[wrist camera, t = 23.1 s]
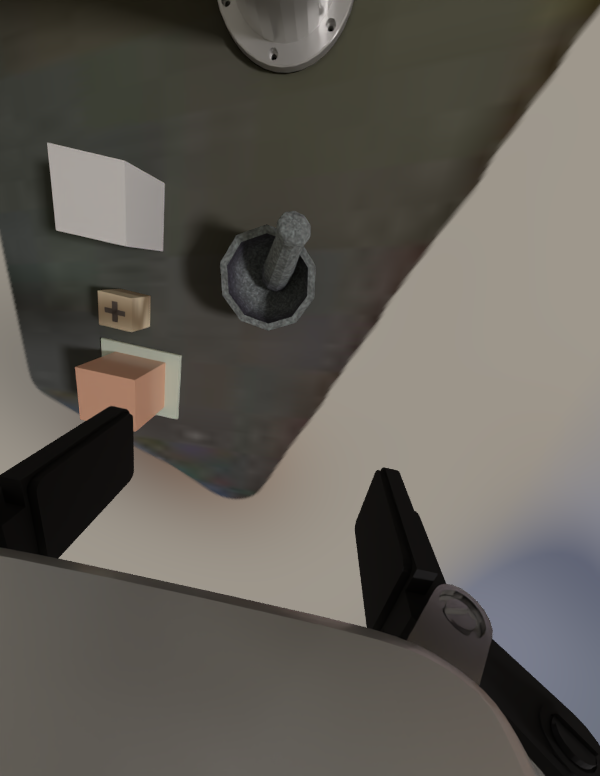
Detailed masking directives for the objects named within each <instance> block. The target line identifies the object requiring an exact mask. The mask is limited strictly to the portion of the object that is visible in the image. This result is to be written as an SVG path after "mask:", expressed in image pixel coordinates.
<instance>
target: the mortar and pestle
mask: <svg viewBox="0 0 600 776" xmlns="http://www.w3.org/2000/svg"><path fill="white" fill-rule="evenodd" d="M309 238H310V224H309V222H308V220H307V219H306V217H305V216H304V215H302V214H300V213H298V212H296V211H291V212H285V213H284V214H283V215H282V216H281V217H280V219H279V220H278V222H277V228H275V227H272V226H269V225H267V224H266V225H264V226H261V227H258V228H255V229H252V230H250V231H247V232H244V233H241V234H238V235H236V237H235V239H234V240H233V242H232V244H231V245H230V247H229V249H228V250H227V252H226V254H225V255H224V257H223V259H222V260H221V262H220V269H221V284H222V296H223V297H224V298H225V300H226V301H227V302H228V304H229V305H230V306H231V308H232V309H233V311H234V312H235V313H236V315H237V316H238V317H239V319H240V320H241V321H244V322H246V323H249V324H252V325H254V326H257V327H260V328H263V329H265V330H272V329H275V328H279V327H282V326H286V325H289V324H293V323H296V321H297V320H298V319H299V317H300V316H301V315H302V314H303V312H304V311H305V310H306V308H307V307H308V306H309V304H310V303H311V302H312V300H313V299H314V292H315V269H316V266H315V264H314V262H313V261H312V259H311V258H310V256H309V254H308V253H307V251H306V249H305V248H304V245H305V243H306V242H307V241H308V240H309Z"/></svg>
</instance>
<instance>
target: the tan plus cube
mask: <svg viewBox="0 0 600 776" xmlns="http://www.w3.org/2000/svg"><path fill="white" fill-rule="evenodd" d="M150 297H151V296H149V295H144V294H140V293H136V292H132V291H128V290H124V289H109V290H98V309H99V325H103V326H108V327H112V328H116V329H120V330H125V331H129V332H134V331H137V330H141V329H144V328H147V327H150Z"/></svg>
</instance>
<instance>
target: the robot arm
mask: <svg viewBox="0 0 600 776" xmlns="http://www.w3.org/2000/svg"><path fill="white" fill-rule="evenodd" d="M217 1H218V5H219V9H220V12H221V14H222V17H223V19H224V22H225V25H226V27H227V29H228V31H229V33H230V35H231V36H232V38H233V40H234V42H235V43H236V44H237V46H238V47H239V48H240V50H241V51H242V52H243V53H244V54H245V55H246V56H247V57H248V58H249V59H250V60H251V61H252V62H254V63H256V64H257V65H259V66H261V67H262V68H264V69H267V70H271V71H274V72H282V73H290V72H295V71H299V70H302V69H304V68H307V67H309V66H311V65H313V64H314V63H315V62H317V61H318V60H319V59H321V58H322V57H323V56H324V55H325V54H326V53H327V52H328V51H329V50H330V48H331V47H332V46H333V45H334V44H335V42H336V41H337V39H338V37H339V36H340V34H341V32H342V31H343V29H344V27H345V24H346V22H347V20H348V17H349V15H350V12H351V9H352V5H353V1H354V0H217ZM228 5H229V6H228ZM227 6H228V7H227ZM330 29H332V30H333V31H332V32H329V30H330ZM275 57H276V58H277V59H276V60H272V59H273V58H275ZM133 452H134V451H133V416H132V415H131V414H130V413H129V410H127V409H124V408H119V407H115V406H109V407H107V408H106V409H104V410H103V411H101V412H99V413H98V414H96V415H95V416H93V417H91V418H90V419H88V420H87V421H85V422H84V423H82V424H80V425H79V426H78V427H76V428H74V429H72V430H71V431H69V432H68V433H66V434H65V435H63V436H61V437H60V438H58V439H57V440H55V441H53V442H52V443H50V444H49V445H47V446H45V447H44V448H42V449H41V450H39V451H37V452H36V453H34V454H33V455H31V456H30V457H28V458H26V459H25V460H23V461H22V462H20V463H18V464H17V465H15V466H14V467H12V468H10V469H9V470H7V471H6V472H4V473H2V474H1V475H0V776H600V746H599V744H598V742H597V741H596V739H595V738H594V737H593V736H592V734H591V733H590V732H589V730H588V729H587V728H586V726H584V724H583V723H582V722H581V721H580V720H579V719H578V718H577V717H576V716H575V715H574V714H573V713H572V712H571V711H570V710H569V709H568V708H566V706H564V705H563V704H562V703H561V702H560V701H559V700H558V699H557V698H556V697H555V696H554V695H552V694H551V693H550V692H549V691H548V690H547V689H546V688H545V687H544V686H543V685H542V684H541V683H539V682H538V681H537V680H536V679H535V678H534V677H533V676H532V675H531V674H530V673H529V672H527V671H526V670H525V669H524V668H523V667H522V666H521V665H520V664H519V663H518V662H517V661H516V660H515V659H513V658H512V657H511V656H510V655H509V654H508V653H507V652H506V651H505V650H504V649H503V648H501V647H500V646H499V645H498V644H497V643H496V642H495V641H494V640H493V639H492V632H493V630H492V626H491V623H490V620H489V618H488V616H487V614H486V612H485V611H484V609H483V608H482V607H481V606H480V605H479V603H478V602H477V601H476V600H475V599H474V598H473V597H472V596H471V595H470V594H468V593H467V592H465V591H464V590H462V589H461V588H459V587H456V586H454V585H450V584H446V582H445V580H444V577H443V575H442V572H441V569H440V567H439V564H438V562H437V559H436V557H435V555H434V552H433V549H432V547H431V544H430V542H429V539H428V537H427V534H426V532H425V529H424V526H423V524H422V521H421V519H420V517H419V515H418V513H417V512H416V511H414V509H413V506H412V504H411V501H410V499H409V496H408V494H407V491H406V488H405V486H404V483H403V480H402V478H401V475H400V473H399V471H397V470H393V469H389V468H382V469H381V471H379V470H377V471H376V472H375V475H374V478H373V480H372V483H371V485H370V487H369V490H368V492H367V495H366V497H365V500H364V502H363V505H362V508H361V511H360V513H359V515H358V518H357V520H356V524H355V535H356V544H357V552H358V560H359V568H360V576H361V584H362V593H363V601H364V609H365V616H366V625H367V628H366V627H361V626H358V625H354V624H350V623H345V622H341V621H337V620H333V619H329V618H325V617H321V616H317V615H313V614H308V613H304V612H299V611H295V610H290V609H286V608H281V607H277V606H273V605H269V604H264V603H260V602H255V601H251V600H246V599H241V598H237V597H233V596H228V595H224V594H219V593H215V592H210V591H206V590H201V589H197V588H192V587H187V586H183V585H178V584H174V583H169V582H164V581H160V580H156V579H151V578H146V577H142V576H137V575H133V574H128V573H123V572H118V571H113V570H109V569H104V568H99V567H95V566H89V565H85V564H81V563H76V562H72V561H67V560H62V559H58V558H59V557H60V556H61V555H62V553H64V552H65V550H66V549H67V548H68V547H69V546H70V545H71V544H72V543H73V542H74V541H75V539H77V537H78V536H79V535H80V534H81V533H82V532H83V531H84V530H85V529H86V528H87V527H88V526H89V525H90V523H91V522H92V521H93V520H94V519H95V518H96V517H97V516H98V515H99V514H100V513H101V512H102V510H103V509H104V508H105V507H106V506H107V505H108V504H109V503H110V502H111V501H112V500H113V499H114V497H115V496H116V495H117V494H118V493H119V492H120V491H121V490H122V489H123V487H125V486H126V485H127V483H128V482H129V481H130V480H131V478H132V476H133V473H134V453H133Z"/></svg>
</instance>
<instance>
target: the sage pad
mask: <svg viewBox="0 0 600 776" xmlns="http://www.w3.org/2000/svg"><path fill="white" fill-rule="evenodd" d="M101 349H102V357H103V356H105V355H108V354H111V353H113V352H120V353H124V354H129V355H134V356H138V357H143V358H147V359H152V360H156V361H161V362H165V363H166V365H165V400H164V408H163V409H162V410H160V411H159V412H158V413H157V414H156V415H159V416H164V417H168V418H173V419H178V415H179V397H180V378H181V360H182V355H178V354H174V353H169V352H165V351H161V350H156V349H152V348H147V347H143V346H138V345H134V344H129V343H125V342H121V341H116V340H112V339H107V338H101Z"/></svg>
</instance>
